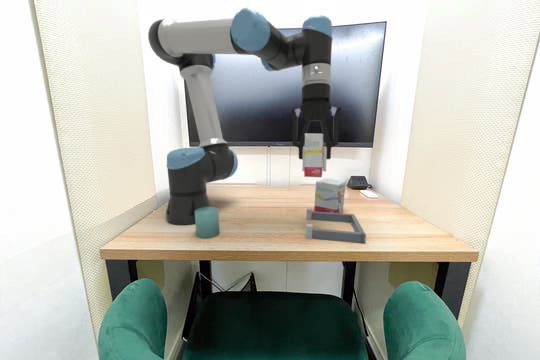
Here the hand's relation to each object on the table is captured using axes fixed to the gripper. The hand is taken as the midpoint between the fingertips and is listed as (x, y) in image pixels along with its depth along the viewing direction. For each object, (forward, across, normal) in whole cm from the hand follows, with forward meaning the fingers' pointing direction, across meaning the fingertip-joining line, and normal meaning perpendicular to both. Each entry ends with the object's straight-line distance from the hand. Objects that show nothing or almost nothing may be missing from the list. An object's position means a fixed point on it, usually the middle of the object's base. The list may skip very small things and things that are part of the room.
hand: (314, 170), depth 61 cm
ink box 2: (+18, +6, +17) cm, 25 cm away
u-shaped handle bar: (+18, +6, +1) cm, 19 cm away
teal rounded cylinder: (+17, -30, -10) cm, 36 cm away
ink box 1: (+1, 0, 0) cm, 1 cm away
